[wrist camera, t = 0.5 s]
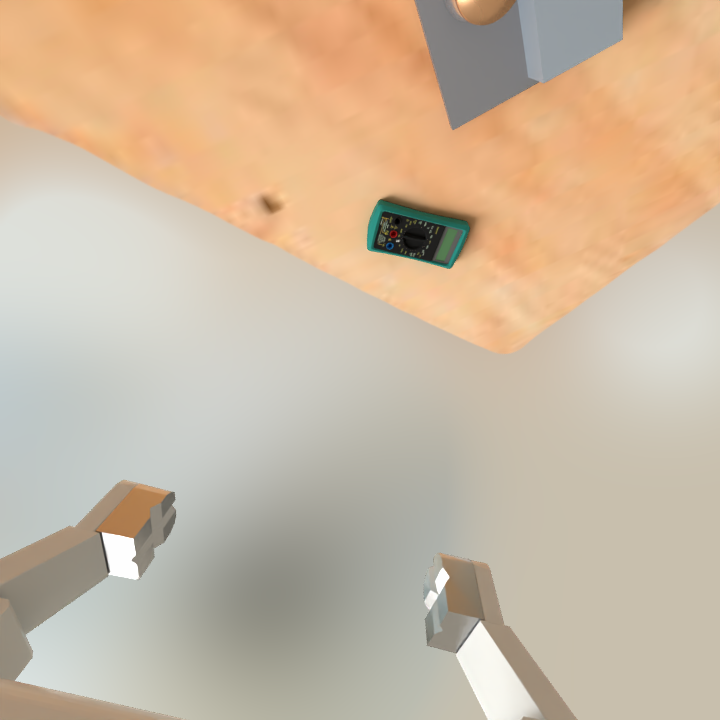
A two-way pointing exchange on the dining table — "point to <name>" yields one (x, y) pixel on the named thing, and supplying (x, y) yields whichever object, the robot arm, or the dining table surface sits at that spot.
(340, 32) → the dining table surface
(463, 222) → the digital multimeter
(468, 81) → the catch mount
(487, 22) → the lidded glass jar
